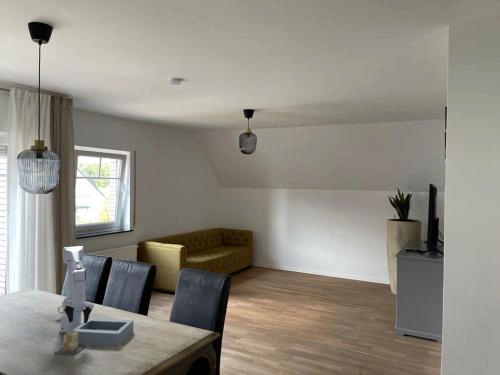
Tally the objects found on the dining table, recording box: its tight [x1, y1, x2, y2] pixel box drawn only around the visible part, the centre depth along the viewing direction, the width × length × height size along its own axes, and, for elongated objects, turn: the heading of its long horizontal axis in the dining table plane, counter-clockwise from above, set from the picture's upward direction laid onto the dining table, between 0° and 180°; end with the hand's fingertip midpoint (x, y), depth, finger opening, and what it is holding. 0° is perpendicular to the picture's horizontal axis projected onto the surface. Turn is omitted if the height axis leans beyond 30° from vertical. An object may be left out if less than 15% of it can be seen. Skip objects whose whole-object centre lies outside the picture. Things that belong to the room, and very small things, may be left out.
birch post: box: [63, 332, 79, 351], centre depth 179 cm, size 4×4×7 cm
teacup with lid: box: [57, 299, 72, 316], centre depth 224 cm, size 12×9×12 cm
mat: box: [53, 344, 87, 356], centre depth 179 cm, size 10×10×1 cm
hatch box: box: [71, 317, 134, 347], centre depth 194 cm, size 24×18×6 cm
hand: (78, 322), depth 187 cm, fingers open, 7 cm apart
